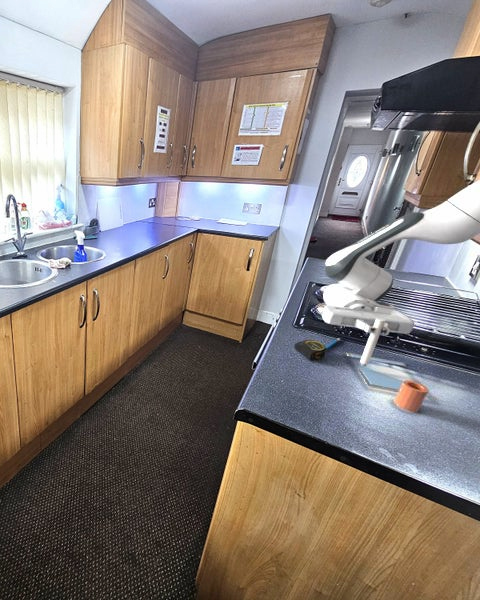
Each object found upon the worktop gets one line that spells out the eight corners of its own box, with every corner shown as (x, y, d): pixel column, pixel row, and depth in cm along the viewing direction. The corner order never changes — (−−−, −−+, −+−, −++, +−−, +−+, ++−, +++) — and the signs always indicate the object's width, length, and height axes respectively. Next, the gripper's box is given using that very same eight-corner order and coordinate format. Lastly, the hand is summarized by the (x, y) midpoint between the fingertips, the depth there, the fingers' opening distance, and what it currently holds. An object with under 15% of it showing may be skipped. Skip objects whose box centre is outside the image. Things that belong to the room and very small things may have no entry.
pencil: (340, 340, 107) (340, 338, 107) (316, 357, 99) (316, 355, 98) (337, 339, 108) (338, 337, 108) (313, 355, 99) (314, 353, 99)
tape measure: (291, 350, 102) (294, 340, 100) (312, 347, 102) (315, 337, 100) (308, 363, 95) (310, 352, 94) (330, 360, 96) (333, 349, 94)
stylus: (365, 364, 92) (383, 318, 87) (368, 367, 90) (386, 321, 85) (358, 363, 92) (375, 317, 87) (360, 366, 90) (378, 320, 86)
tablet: (402, 364, 95) (403, 362, 95) (437, 402, 80) (438, 399, 80) (345, 354, 100) (346, 351, 100) (367, 388, 85) (368, 385, 84)
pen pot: (412, 403, 80) (422, 383, 77) (421, 415, 76) (433, 394, 73) (390, 398, 81) (399, 378, 79) (398, 409, 77) (408, 389, 75)
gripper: (318, 297, 100) (336, 315, 88) (399, 305, 95) (430, 326, 82) (312, 315, 103) (329, 335, 90) (391, 325, 97) (420, 347, 85)
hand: (378, 331), depth 86 cm, fingers closed on stylus, 2 cm apart
